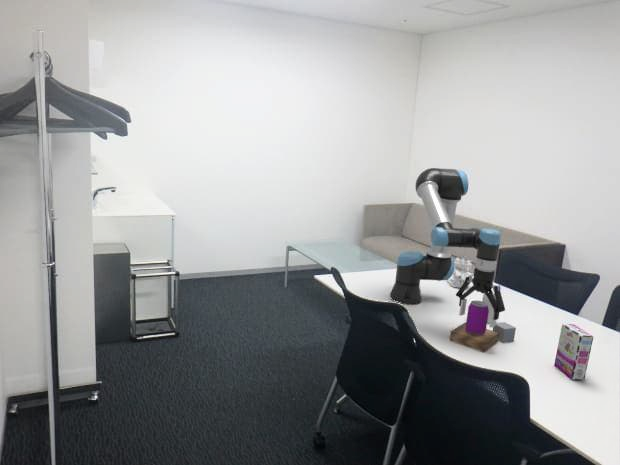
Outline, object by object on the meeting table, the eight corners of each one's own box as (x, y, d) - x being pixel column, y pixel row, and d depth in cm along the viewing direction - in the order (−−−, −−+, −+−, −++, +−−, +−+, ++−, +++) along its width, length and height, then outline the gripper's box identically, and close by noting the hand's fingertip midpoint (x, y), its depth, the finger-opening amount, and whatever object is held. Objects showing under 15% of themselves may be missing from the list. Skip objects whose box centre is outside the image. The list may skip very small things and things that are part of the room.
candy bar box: (585, 380, 169) (594, 336, 165) (571, 380, 168) (580, 336, 165) (566, 365, 179) (574, 323, 176) (553, 365, 179) (561, 323, 176)
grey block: (491, 337, 201) (493, 323, 199) (502, 335, 203) (504, 322, 202) (502, 343, 195) (504, 329, 194) (513, 341, 198) (515, 327, 197)
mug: (497, 324, 215) (501, 298, 213) (481, 323, 215) (485, 297, 213) (490, 316, 225) (493, 291, 222) (475, 314, 225) (479, 289, 223)
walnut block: (449, 340, 194) (451, 330, 193) (464, 331, 204) (465, 322, 204) (484, 352, 185) (485, 342, 184) (497, 342, 196) (499, 332, 195)
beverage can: (486, 330, 196) (490, 302, 194) (484, 337, 189) (488, 308, 187) (466, 326, 199) (470, 298, 197) (463, 332, 192) (468, 303, 190)
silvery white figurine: (443, 279, 278) (448, 249, 275) (461, 280, 279) (465, 250, 275) (455, 291, 259) (460, 258, 255) (474, 292, 259) (479, 259, 256)
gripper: (451, 261, 196) (444, 311, 200) (509, 279, 177) (500, 334, 182) (462, 259, 200) (455, 308, 205) (520, 276, 182) (511, 330, 186)
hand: (476, 320), depth 193 cm, fingers open, 13 cm apart
